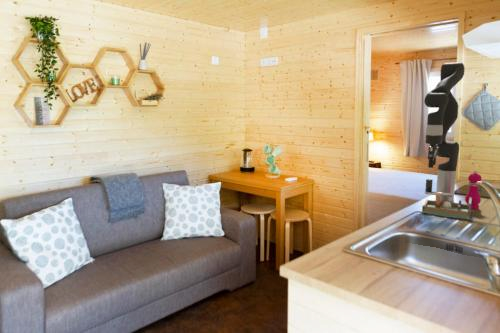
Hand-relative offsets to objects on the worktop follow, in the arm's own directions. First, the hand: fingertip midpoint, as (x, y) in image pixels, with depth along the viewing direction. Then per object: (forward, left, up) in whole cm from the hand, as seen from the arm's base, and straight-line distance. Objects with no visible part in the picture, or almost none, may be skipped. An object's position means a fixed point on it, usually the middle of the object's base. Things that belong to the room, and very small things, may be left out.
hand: (431, 166), depth 207 cm
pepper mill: (-17, +19, -23) cm, 34 cm away
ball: (-1, +8, -19) cm, 21 cm away
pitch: (-1, +8, -23) cm, 24 cm away
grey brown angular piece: (-1, +4, -21) cm, 21 cm away
